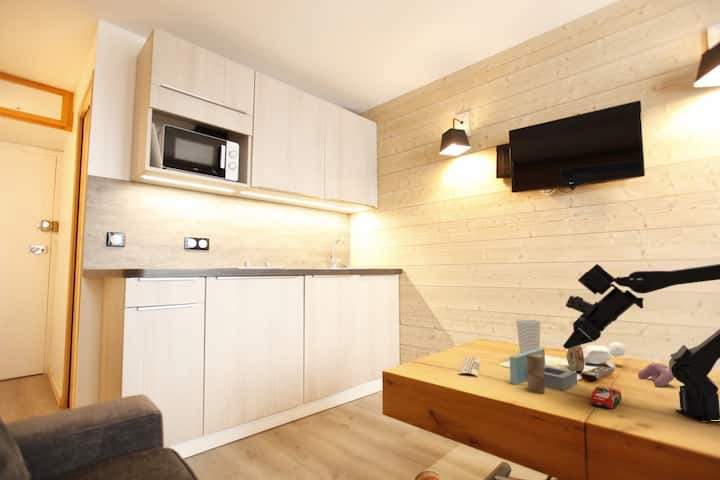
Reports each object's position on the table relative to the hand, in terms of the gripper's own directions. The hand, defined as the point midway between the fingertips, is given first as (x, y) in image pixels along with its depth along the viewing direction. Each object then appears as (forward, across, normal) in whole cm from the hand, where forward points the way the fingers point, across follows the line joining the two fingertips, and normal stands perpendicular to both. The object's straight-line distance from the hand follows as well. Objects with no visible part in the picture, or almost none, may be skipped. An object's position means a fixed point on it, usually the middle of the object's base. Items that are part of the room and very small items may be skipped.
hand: (566, 344), depth 101 cm
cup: (+21, -32, -2) cm, 38 cm away
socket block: (+13, -8, +6) cm, 17 cm away
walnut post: (+15, +2, +4) cm, 16 cm away
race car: (+4, +1, +16) cm, 17 cm away
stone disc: (+10, -29, +9) cm, 32 cm away
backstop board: (+18, -10, +1) cm, 21 cm away
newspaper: (+32, -11, -12) cm, 36 cm away
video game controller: (-5, -28, +25) cm, 37 cm away
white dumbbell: (+6, -44, +14) cm, 46 cm away
